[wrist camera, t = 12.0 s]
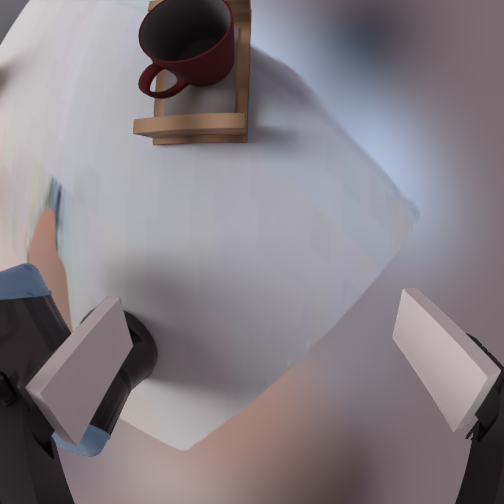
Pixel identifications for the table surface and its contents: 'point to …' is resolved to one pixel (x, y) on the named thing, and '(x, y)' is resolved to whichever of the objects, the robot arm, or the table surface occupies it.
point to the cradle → (205, 98)
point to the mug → (187, 43)
